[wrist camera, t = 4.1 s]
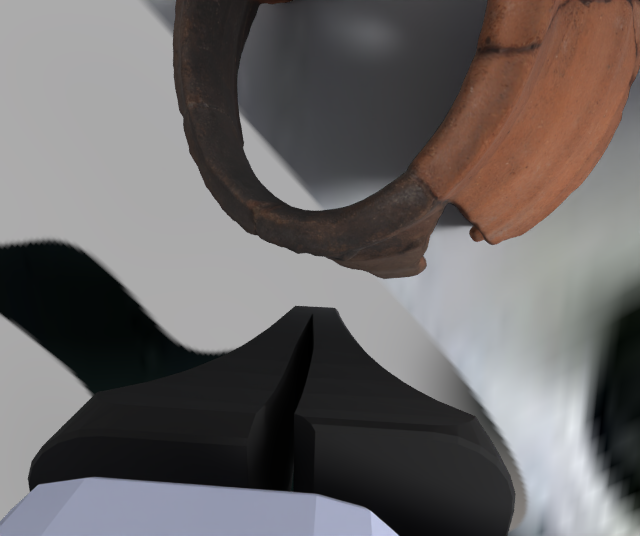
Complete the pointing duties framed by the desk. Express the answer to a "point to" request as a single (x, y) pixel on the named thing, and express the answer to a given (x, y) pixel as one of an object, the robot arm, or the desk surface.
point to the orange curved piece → (447, 142)
